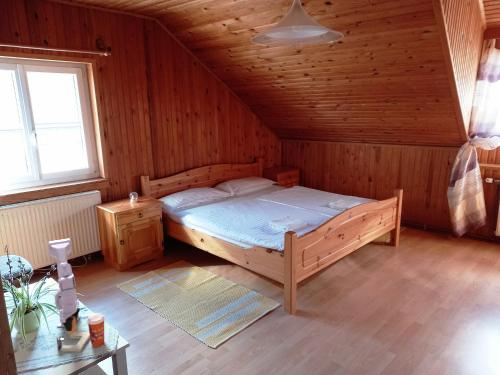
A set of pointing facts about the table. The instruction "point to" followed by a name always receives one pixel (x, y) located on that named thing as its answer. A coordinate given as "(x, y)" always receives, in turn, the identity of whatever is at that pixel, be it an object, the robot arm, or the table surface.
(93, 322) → the paper cup
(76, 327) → the orange rounded cylinder
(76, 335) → the beige u-shaped block
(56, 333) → the table surface
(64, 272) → the robot arm
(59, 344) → the hook post
